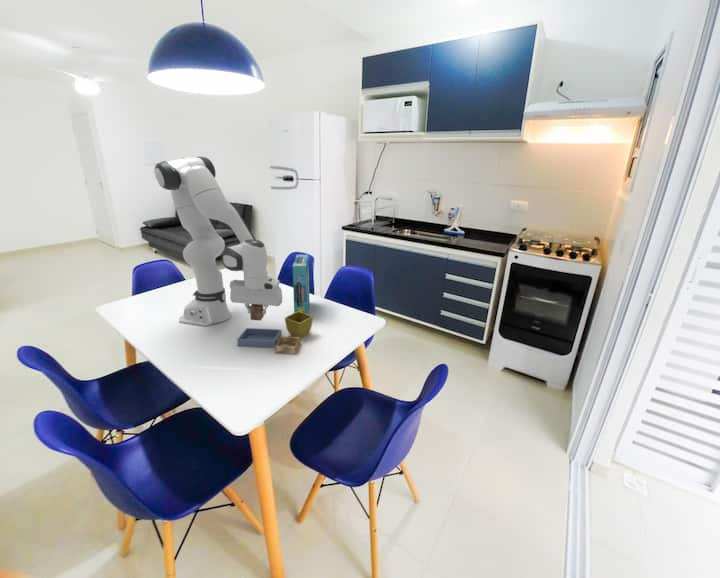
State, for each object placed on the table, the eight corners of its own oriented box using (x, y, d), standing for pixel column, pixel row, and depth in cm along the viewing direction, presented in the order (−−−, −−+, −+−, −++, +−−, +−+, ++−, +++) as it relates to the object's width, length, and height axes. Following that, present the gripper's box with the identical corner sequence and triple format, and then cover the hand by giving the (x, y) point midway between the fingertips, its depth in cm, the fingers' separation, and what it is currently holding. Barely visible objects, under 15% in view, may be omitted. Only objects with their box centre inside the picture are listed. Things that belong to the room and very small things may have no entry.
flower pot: (313, 334, 146) (313, 315, 142) (300, 342, 139) (299, 323, 135) (298, 329, 150) (298, 311, 147) (285, 336, 143) (284, 317, 140)
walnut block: (250, 319, 133) (250, 306, 131) (254, 315, 137) (253, 302, 135) (260, 320, 133) (260, 307, 131) (263, 316, 137) (263, 303, 135)
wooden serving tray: (275, 354, 129) (275, 346, 128) (281, 343, 137) (280, 336, 136) (296, 355, 129) (296, 347, 128) (300, 344, 137) (300, 337, 136)
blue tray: (237, 347, 133) (237, 339, 132) (247, 335, 143) (246, 328, 142) (275, 348, 133) (274, 341, 132) (281, 336, 143) (281, 329, 141)
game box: (297, 303, 178) (295, 254, 169) (309, 303, 179) (308, 254, 169) (294, 319, 159) (291, 265, 149) (307, 319, 159) (305, 265, 150)
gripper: (226, 281, 126) (228, 314, 131) (279, 286, 126) (279, 318, 131) (232, 276, 132) (234, 308, 137) (283, 280, 132) (283, 312, 137)
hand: (257, 313), depth 134 cm, fingers closed on walnut block, 4 cm apart
